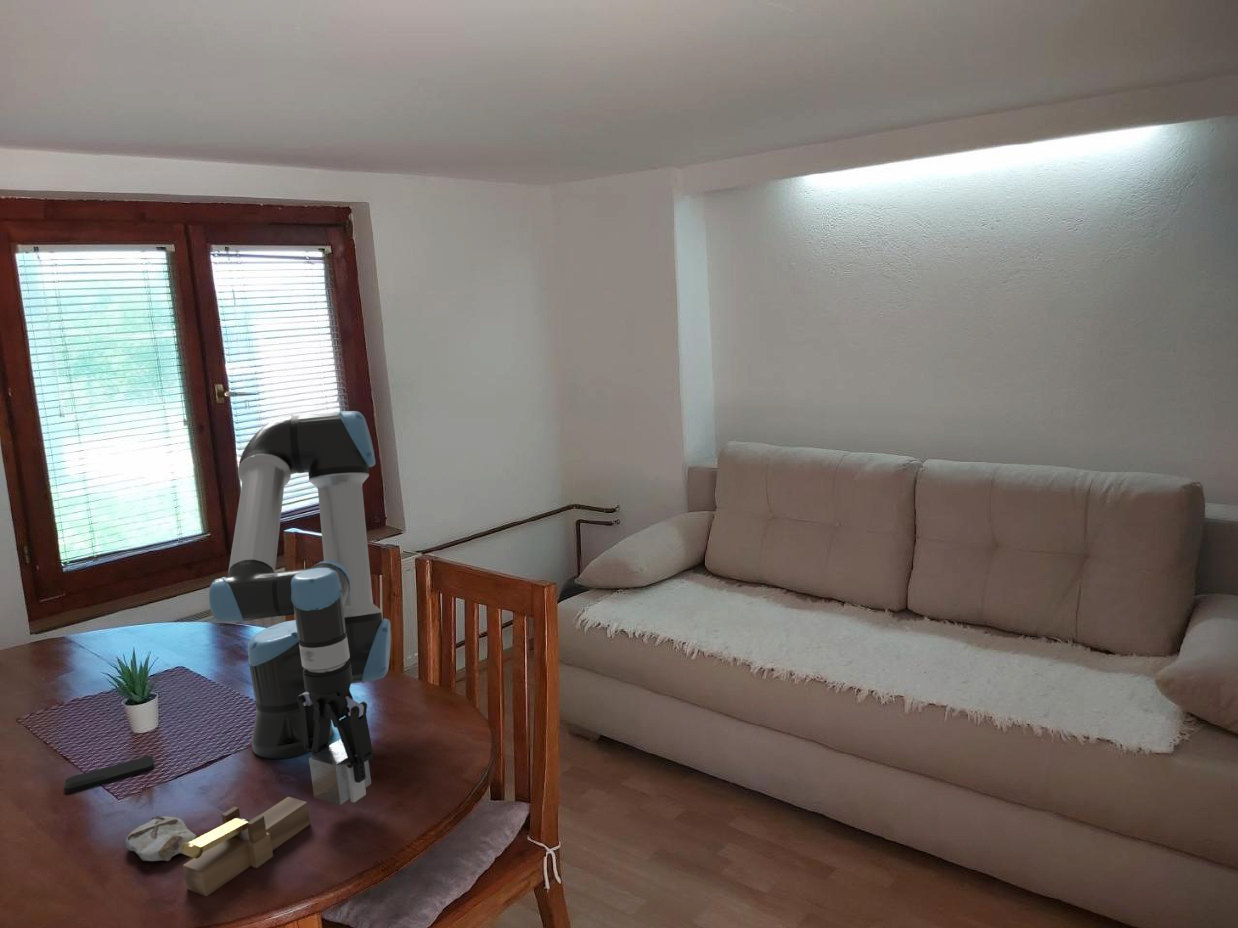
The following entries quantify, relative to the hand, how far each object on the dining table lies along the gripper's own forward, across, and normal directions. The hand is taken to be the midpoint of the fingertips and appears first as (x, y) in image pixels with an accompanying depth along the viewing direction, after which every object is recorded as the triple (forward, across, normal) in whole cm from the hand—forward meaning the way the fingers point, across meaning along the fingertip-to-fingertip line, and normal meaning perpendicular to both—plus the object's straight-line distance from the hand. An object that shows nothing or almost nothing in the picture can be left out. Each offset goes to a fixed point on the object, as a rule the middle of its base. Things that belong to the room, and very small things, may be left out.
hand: (343, 793), depth 154 cm
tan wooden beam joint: (+4, -6, -14) cm, 16 cm away
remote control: (+4, -53, -8) cm, 53 cm away
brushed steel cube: (-1, 0, 0) cm, 1 cm away
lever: (-2, -6, -15) cm, 16 cm away
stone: (+4, -22, -19) cm, 30 cm away
